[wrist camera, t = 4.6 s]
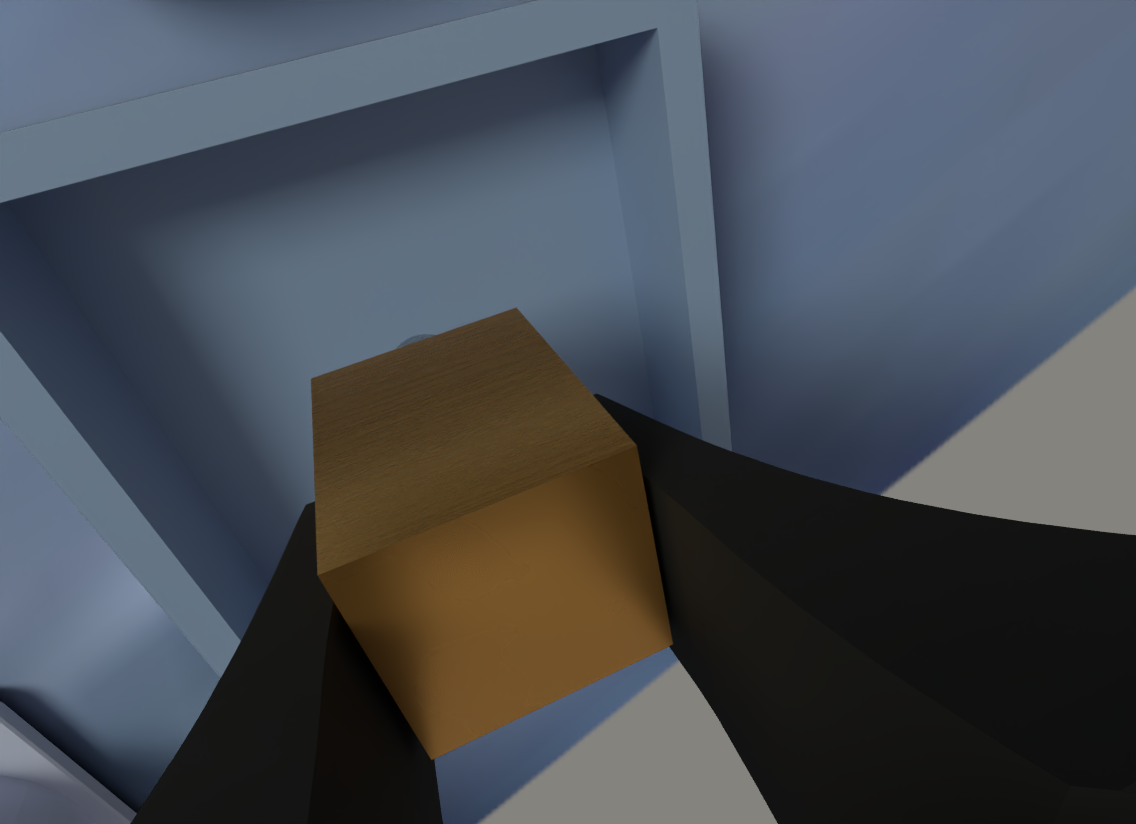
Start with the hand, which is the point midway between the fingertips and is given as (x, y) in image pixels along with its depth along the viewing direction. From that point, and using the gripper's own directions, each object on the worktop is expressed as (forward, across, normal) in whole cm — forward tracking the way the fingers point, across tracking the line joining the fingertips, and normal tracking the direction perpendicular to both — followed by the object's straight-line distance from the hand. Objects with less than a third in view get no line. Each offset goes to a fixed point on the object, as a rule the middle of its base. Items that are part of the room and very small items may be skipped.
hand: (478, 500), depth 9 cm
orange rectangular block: (+4, 0, -1) cm, 4 cm away
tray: (+6, 0, 0) cm, 6 cm away
